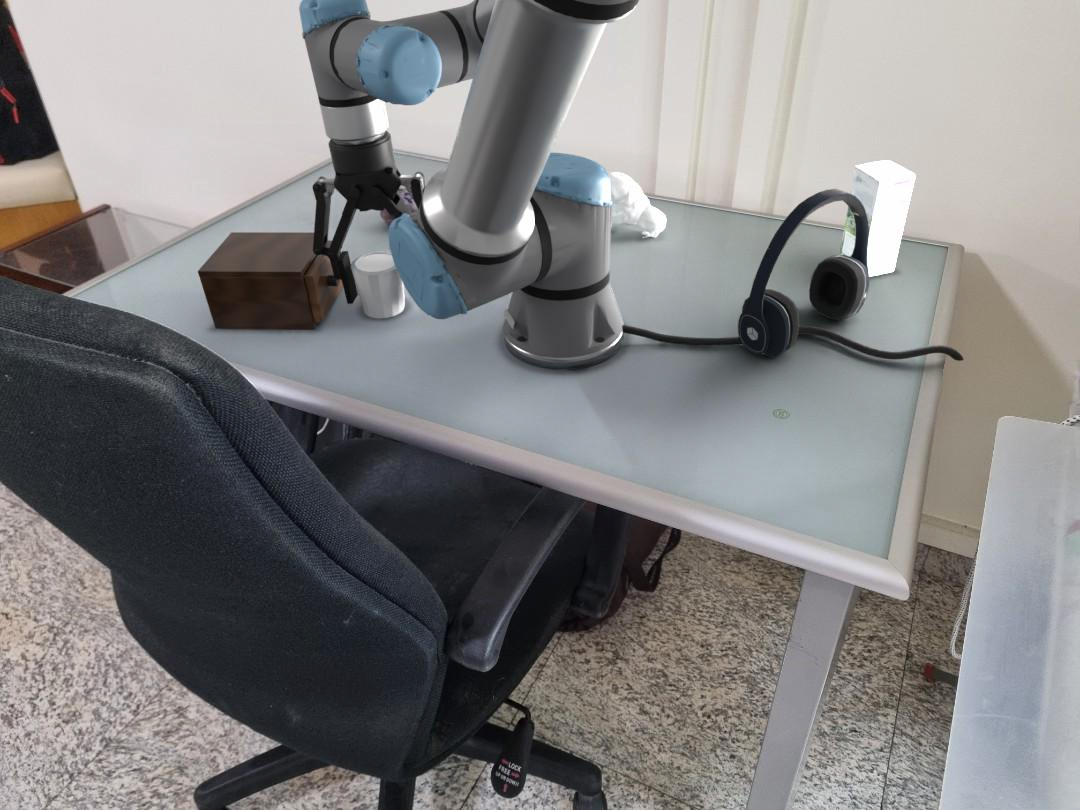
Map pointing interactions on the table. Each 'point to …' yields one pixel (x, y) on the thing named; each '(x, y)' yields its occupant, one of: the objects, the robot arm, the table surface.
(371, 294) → the shot glass
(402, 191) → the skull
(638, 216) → the white figurine
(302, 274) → the cabinet
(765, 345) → the headphones
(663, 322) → the table surface
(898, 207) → the syrup box
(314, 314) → the drawer
